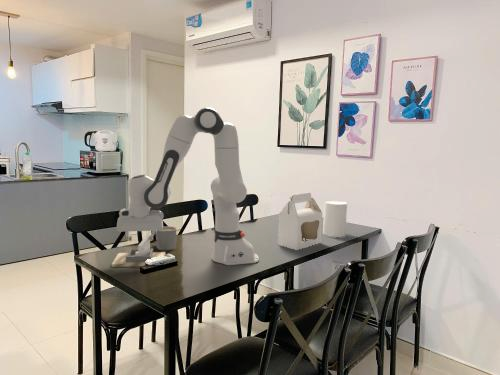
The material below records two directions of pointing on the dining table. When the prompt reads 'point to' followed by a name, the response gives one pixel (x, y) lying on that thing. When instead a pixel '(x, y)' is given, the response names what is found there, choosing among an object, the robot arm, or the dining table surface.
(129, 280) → the dining table surface
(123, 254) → the mounting board
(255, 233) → the dining table surface
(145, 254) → the white wedge bracket
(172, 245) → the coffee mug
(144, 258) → the back box
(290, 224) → the gable box
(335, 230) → the canister
